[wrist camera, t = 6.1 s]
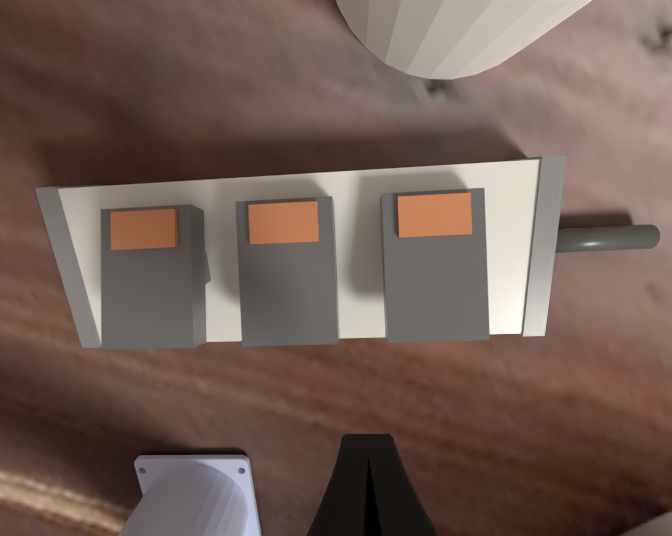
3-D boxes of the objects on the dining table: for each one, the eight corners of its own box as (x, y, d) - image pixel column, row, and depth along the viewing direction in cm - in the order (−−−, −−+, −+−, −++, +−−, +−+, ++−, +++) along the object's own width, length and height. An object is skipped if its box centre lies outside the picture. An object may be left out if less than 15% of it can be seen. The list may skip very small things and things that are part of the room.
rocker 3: (478, 333, 14) (491, 341, 13) (385, 336, 14) (388, 344, 13) (473, 194, 14) (486, 186, 13) (379, 199, 14) (382, 192, 13)
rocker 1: (206, 342, 15) (190, 348, 13) (121, 344, 15) (97, 351, 14) (204, 210, 15) (188, 203, 14) (120, 215, 15) (97, 208, 14)
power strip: (621, 306, 18) (684, 337, 15) (122, 322, 20) (74, 352, 17) (651, 150, 16) (732, 144, 13) (87, 185, 18) (24, 188, 15)
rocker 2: (339, 337, 15) (337, 345, 13) (251, 339, 15) (240, 347, 13) (334, 201, 15) (331, 195, 13) (245, 206, 15) (233, 200, 13)
